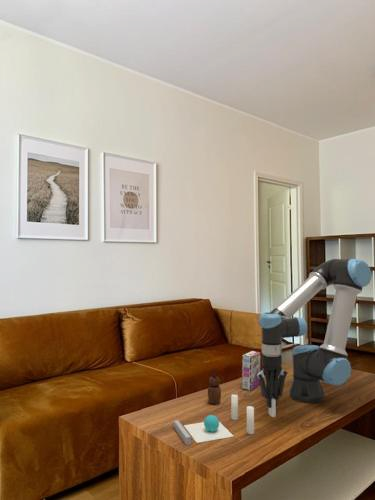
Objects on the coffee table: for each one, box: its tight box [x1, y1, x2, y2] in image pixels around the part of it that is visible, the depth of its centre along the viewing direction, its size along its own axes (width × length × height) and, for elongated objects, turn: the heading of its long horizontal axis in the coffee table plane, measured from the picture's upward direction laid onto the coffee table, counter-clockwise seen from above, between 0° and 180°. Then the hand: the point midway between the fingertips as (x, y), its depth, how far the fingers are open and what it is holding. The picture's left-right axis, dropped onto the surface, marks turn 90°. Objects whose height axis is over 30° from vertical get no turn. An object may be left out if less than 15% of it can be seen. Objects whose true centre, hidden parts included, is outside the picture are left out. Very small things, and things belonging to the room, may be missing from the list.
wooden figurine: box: [207, 366, 222, 405], centre depth 163 cm, size 7×6×15 cm
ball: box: [203, 414, 220, 432], centre depth 136 cm, size 6×6×6 cm
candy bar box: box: [241, 350, 261, 392], centre depth 183 cm, size 11×5×16 cm, turn 145°
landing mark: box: [183, 421, 235, 444], centre depth 136 cm, size 14×14×1 cm
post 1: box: [230, 393, 239, 421], centre depth 146 cm, size 3×3×9 cm
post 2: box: [246, 405, 255, 435], centre depth 135 cm, size 3×3×9 cm
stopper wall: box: [173, 419, 192, 446], centre depth 133 cm, size 2×14×2 cm, turn 19°
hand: (272, 415), depth 145 cm, fingers closed
